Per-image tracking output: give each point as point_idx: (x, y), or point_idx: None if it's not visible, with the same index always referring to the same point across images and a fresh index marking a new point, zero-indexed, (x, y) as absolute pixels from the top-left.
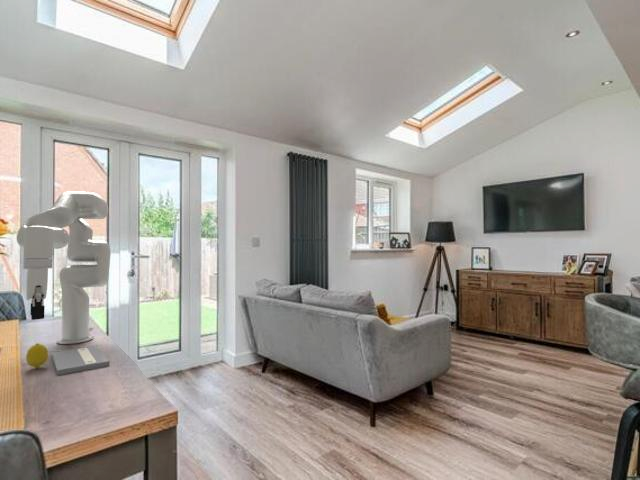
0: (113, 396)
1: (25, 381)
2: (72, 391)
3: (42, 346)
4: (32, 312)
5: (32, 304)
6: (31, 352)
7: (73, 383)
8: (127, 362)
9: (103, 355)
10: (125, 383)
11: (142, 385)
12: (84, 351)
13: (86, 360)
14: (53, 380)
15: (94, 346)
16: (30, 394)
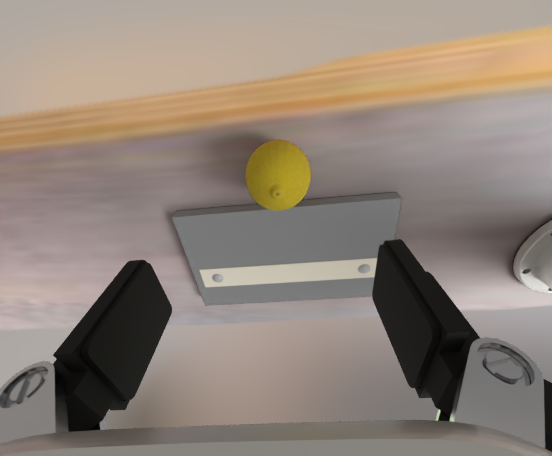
0: (5, 289)
1: (149, 141)
2: (42, 238)
3: (267, 205)
4: (99, 307)
5: (429, 333)
6: (251, 166)
7: (97, 239)
8: (215, 321)
9: (264, 300)
10: (74, 307)
11: (58, 322)
12: (337, 271)
13: (233, 272)
14: (134, 204)
15: None
16: (32, 163)
